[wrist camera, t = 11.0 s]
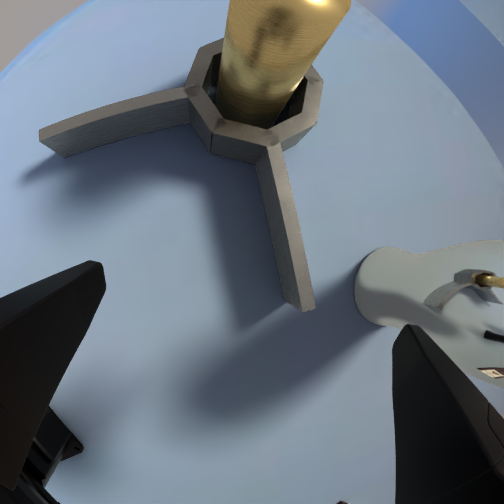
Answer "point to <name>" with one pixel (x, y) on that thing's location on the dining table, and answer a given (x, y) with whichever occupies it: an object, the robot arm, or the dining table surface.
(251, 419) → the dining table surface
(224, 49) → the hinge pin
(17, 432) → the robot arm
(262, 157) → the grey ring with arms
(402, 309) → the beer glass
